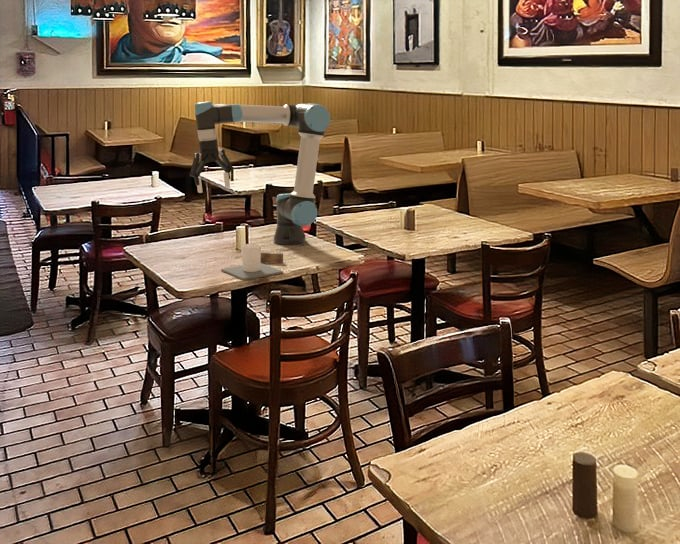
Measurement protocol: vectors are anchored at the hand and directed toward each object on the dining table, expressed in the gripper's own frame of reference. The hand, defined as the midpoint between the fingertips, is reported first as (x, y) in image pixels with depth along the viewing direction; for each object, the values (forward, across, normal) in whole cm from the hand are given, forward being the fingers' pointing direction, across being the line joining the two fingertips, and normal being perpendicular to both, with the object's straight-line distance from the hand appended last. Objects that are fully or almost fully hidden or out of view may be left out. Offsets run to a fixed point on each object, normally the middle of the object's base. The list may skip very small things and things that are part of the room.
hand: (214, 190), depth 320 cm
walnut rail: (+31, -9, +20) cm, 38 cm away
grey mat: (+31, +5, +30) cm, 43 cm away
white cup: (+30, +5, +30) cm, 43 cm away
